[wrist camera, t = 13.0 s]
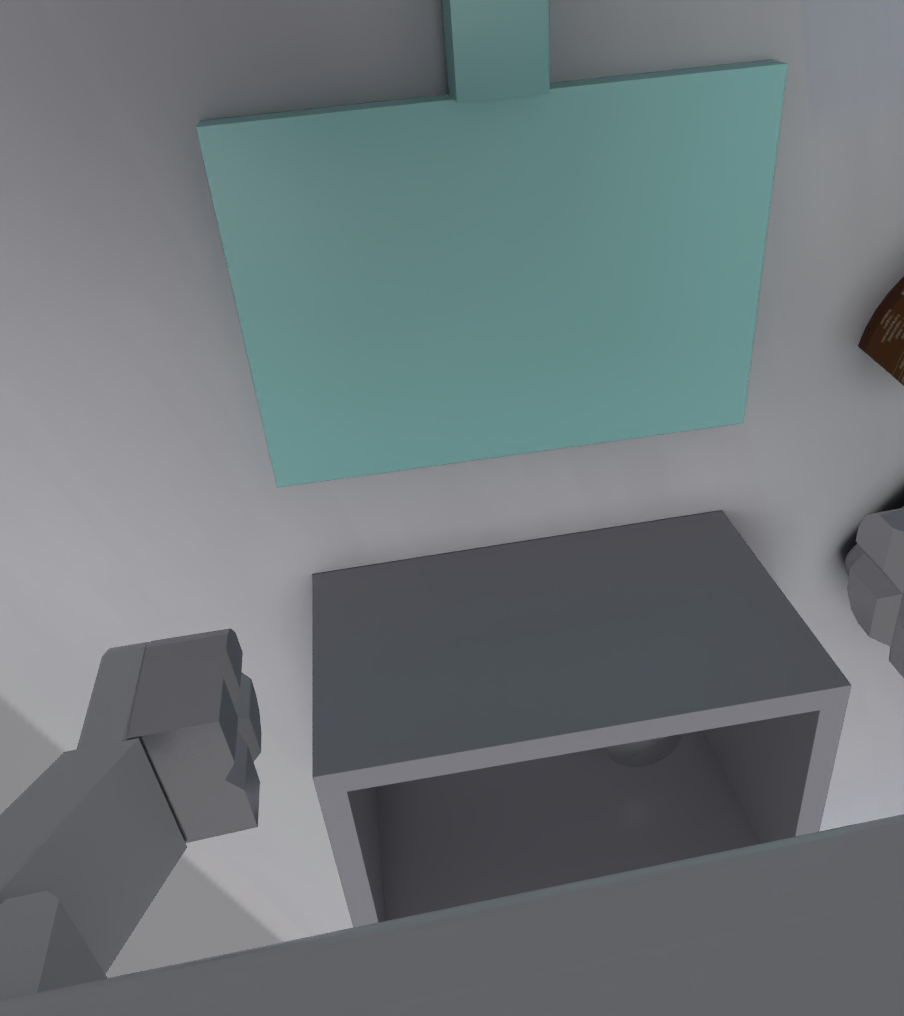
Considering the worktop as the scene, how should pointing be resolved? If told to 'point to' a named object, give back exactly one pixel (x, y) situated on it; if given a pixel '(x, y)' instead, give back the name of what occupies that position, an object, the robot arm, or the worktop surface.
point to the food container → (887, 333)
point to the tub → (562, 713)
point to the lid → (498, 255)
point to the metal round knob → (643, 751)
